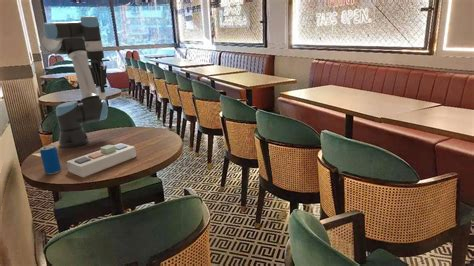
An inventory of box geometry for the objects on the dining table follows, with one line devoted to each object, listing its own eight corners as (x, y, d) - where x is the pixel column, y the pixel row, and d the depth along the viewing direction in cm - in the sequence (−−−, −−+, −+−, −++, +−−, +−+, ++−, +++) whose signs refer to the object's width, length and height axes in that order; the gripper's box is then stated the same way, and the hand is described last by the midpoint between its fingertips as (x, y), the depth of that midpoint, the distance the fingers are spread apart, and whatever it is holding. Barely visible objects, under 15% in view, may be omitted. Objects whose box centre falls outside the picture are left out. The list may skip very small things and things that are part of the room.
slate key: (113, 152, 163) (112, 147, 162) (122, 149, 167) (121, 144, 166) (119, 154, 160) (118, 148, 159) (128, 151, 164) (127, 145, 163)
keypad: (68, 171, 150) (66, 161, 148) (121, 152, 171) (120, 143, 170) (83, 177, 143) (80, 166, 141) (136, 156, 164) (134, 146, 163)
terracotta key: (89, 161, 153) (88, 155, 152) (98, 158, 157) (97, 152, 156) (95, 163, 150) (93, 157, 150) (104, 160, 154) (103, 154, 153)
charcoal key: (75, 166, 148) (74, 160, 147) (85, 162, 152) (84, 156, 151) (81, 168, 146) (80, 162, 145) (91, 165, 149) (90, 158, 148)
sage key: (101, 153, 158) (100, 147, 157) (110, 150, 161) (109, 144, 160) (107, 155, 155) (106, 149, 154) (116, 152, 158) (114, 146, 158)
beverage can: (49, 169, 153) (43, 145, 149) (63, 168, 154) (58, 144, 150) (42, 175, 147) (36, 150, 143) (57, 174, 147) (52, 149, 144)
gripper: (80, 50, 159) (89, 99, 166) (94, 51, 151) (103, 101, 159) (94, 49, 164) (102, 96, 172) (109, 49, 157) (117, 98, 164)
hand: (102, 98), depth 165 cm, fingers closed
